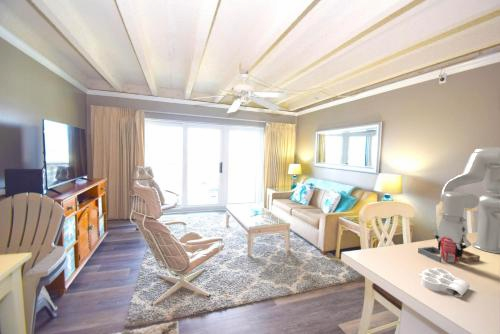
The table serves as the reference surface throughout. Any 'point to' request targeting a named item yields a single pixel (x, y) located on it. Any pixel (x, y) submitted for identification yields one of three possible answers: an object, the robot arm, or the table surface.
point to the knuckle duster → (443, 281)
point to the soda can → (448, 250)
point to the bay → (427, 253)
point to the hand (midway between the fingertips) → (449, 252)
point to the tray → (468, 257)
